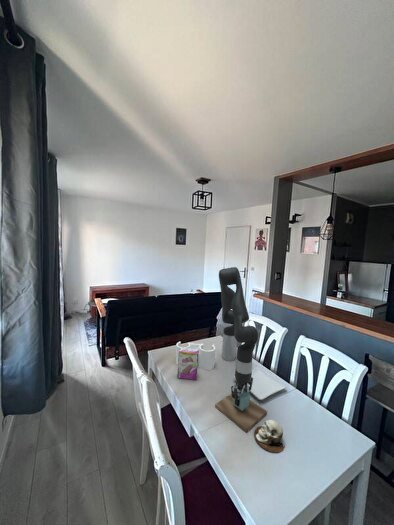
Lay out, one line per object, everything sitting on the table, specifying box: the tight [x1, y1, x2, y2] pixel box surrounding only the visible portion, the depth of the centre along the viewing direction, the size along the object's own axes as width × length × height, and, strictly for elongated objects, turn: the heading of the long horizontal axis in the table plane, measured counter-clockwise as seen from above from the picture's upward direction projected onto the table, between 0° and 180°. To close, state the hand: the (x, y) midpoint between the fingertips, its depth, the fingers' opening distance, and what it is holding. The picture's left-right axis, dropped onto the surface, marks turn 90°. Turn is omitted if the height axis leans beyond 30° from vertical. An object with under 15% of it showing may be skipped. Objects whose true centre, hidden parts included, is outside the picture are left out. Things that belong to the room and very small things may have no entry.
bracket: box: [175, 341, 216, 371], centre depth 141 cm, size 25×10×12 cm, turn 83°
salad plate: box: [232, 366, 288, 401], centre depth 123 cm, size 21×21×3 cm
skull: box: [253, 419, 286, 453], centre depth 90 cm, size 12×10×10 cm
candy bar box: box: [177, 348, 199, 381], centre depth 127 cm, size 11×5×16 cm, turn 84°
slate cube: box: [233, 390, 251, 410], centre depth 104 cm, size 6×6×6 cm
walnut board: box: [214, 394, 268, 433], centre depth 104 cm, size 16×18×2 cm
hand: (241, 402), depth 104 cm, fingers closed on slate cube, 5 cm apart
